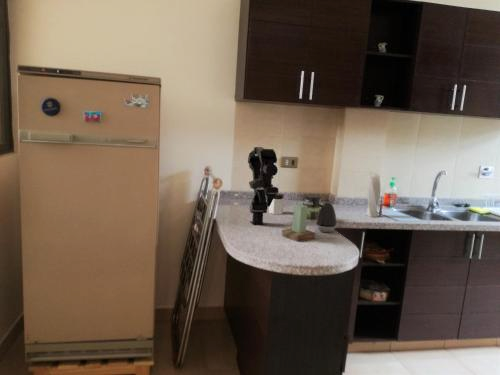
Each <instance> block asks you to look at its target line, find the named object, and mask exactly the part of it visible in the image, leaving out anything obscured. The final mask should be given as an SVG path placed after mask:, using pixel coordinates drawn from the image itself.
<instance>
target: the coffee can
mask: <svg viewBox="0 0 500 375" xmlns="http://www.w3.org/2000/svg"><path fill="white" fill-rule="evenodd" d="M302 197H303V199H302V201H303V202H302V205H305V206H308V209H307V220H306V222H316V220H317V216H318V213H319V210H320V208H321V207H319V206H318V205H317V204H321V201H322V200H321V198H322V196H321V195H317V194H303V195H302Z"/></svg>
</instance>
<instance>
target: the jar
mask: <svg viewBox="0 0 500 375" xmlns="http://www.w3.org/2000/svg"><path fill="white" fill-rule="evenodd" d="M284 200H285V198H284V194H283V193H279V192H278V193H277V194H276V196H275V197H274V199H273V201H272V203H271V205H270V206H268V213H269V214H271V213H272V214H273V215H282V214H283V213H284V204H285V203H284V202H285V201H284ZM272 214H271V215H272Z"/></svg>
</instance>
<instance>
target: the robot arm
mask: <svg viewBox="0 0 500 375" xmlns="http://www.w3.org/2000/svg"><path fill="white" fill-rule="evenodd" d="M277 162H278V157H277V154H276V151H275V149H274V148H264V147H262V146H254V147H253V150H252V151H250V152H249V153H248V157H247V164H248V168H249V169H250V171H251V172H252V180H251V181H248V184H249V187H250V189H252V190H253V197H252V199H251V202H250V205H249V212H250V213H251V214H252V219H251V220H252V221H249V222H250V223H251V224H252V225H254V226H255V225H266V223H265V222H264V214H267V213H268V208H269V206H270V205H271V203H272V201H273V199H274V197H275V196H276V194H277V193H279V188H278V187H277V186H274V184H272V181H273V180H274V176H276V175H277V174H278V170H279V169H278V167H277V165H276V164H277ZM272 179H273V180H272Z"/></svg>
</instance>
